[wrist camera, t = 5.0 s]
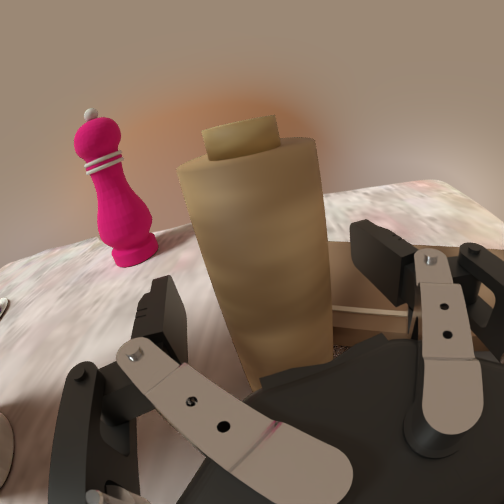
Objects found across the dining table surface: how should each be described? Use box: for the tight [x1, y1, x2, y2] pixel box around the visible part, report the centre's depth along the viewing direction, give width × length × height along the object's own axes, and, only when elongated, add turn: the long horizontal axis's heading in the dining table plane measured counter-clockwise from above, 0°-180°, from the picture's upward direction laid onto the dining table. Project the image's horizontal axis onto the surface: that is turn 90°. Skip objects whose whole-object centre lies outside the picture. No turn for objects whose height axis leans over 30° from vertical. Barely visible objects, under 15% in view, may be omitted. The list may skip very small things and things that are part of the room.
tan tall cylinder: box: [176, 115, 333, 392], centre depth 11 cm, size 5×5×13 cm
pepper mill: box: [74, 108, 158, 267], centre depth 30 cm, size 7×7×20 cm
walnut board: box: [328, 241, 504, 351], centre depth 16 cm, size 20×10×2 cm, turn 64°
